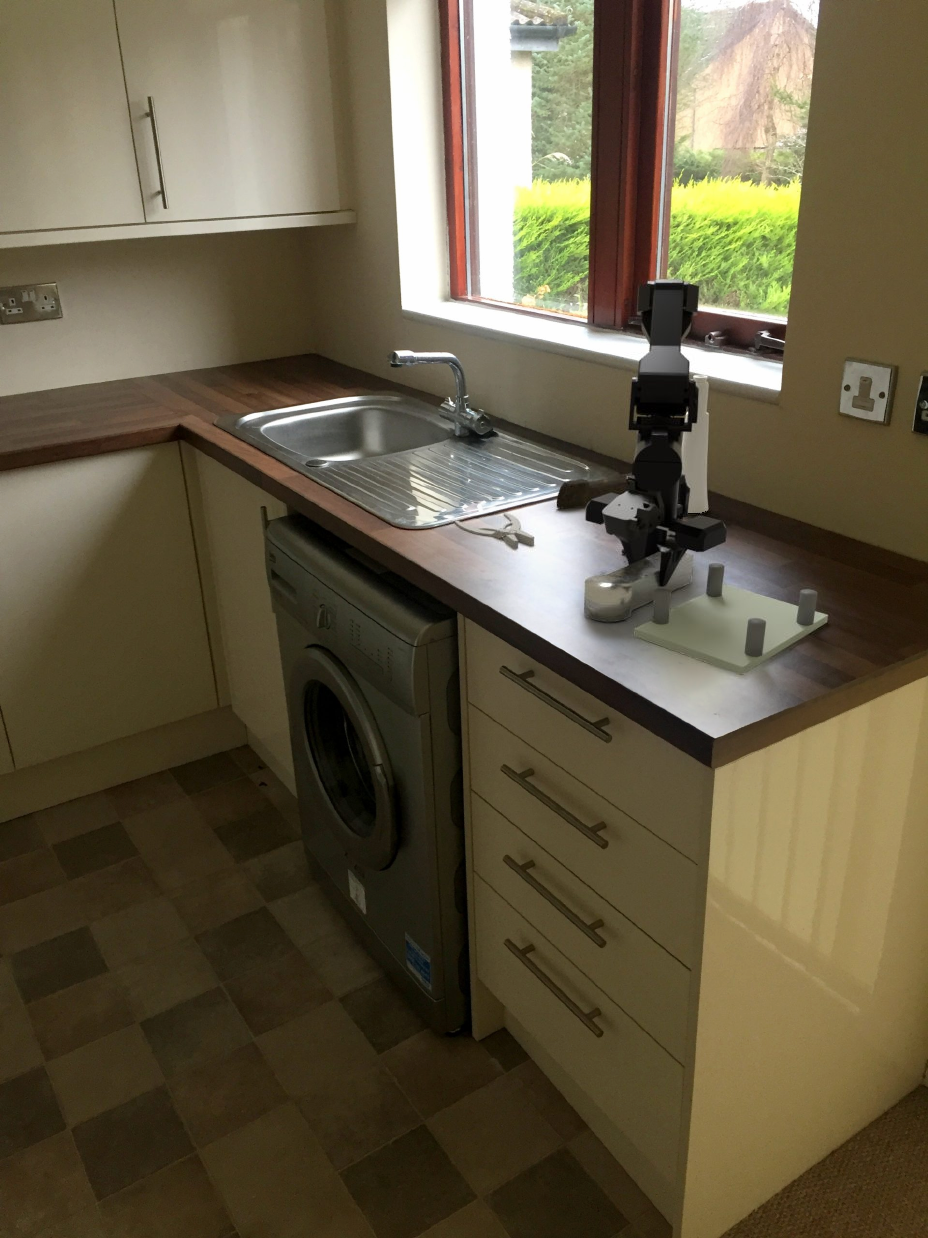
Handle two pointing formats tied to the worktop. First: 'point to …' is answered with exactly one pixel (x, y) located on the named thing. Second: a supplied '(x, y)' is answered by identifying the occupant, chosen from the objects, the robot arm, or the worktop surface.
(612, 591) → the round-ended glossy bar
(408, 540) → the worktop surface
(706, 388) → the cosmetic bottle
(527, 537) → the pliers
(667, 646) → the peg board
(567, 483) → the hand tool
